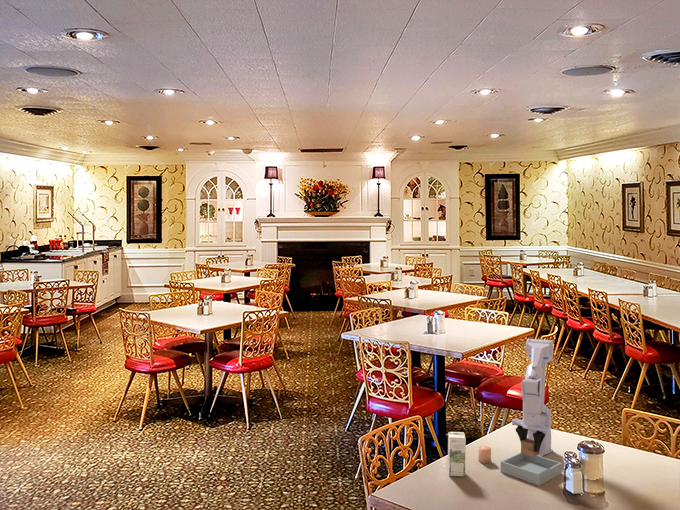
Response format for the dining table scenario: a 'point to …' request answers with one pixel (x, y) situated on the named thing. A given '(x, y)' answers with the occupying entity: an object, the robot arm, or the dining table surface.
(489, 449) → the peach rounded capsule
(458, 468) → the syrup box
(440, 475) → the dining table surface
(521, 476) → the tote
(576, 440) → the dining table surface
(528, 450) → the walnut block
